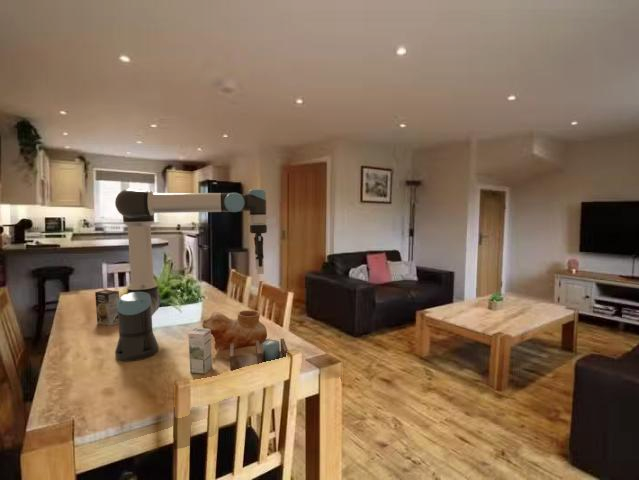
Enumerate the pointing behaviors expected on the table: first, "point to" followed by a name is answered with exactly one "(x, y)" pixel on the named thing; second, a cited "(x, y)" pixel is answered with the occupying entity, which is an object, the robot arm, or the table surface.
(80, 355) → the table surface
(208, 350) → the syrup box
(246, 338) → the ceramic vessel
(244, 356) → the slot rack
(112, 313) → the coffee box
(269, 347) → the grey-blue rounded cube
